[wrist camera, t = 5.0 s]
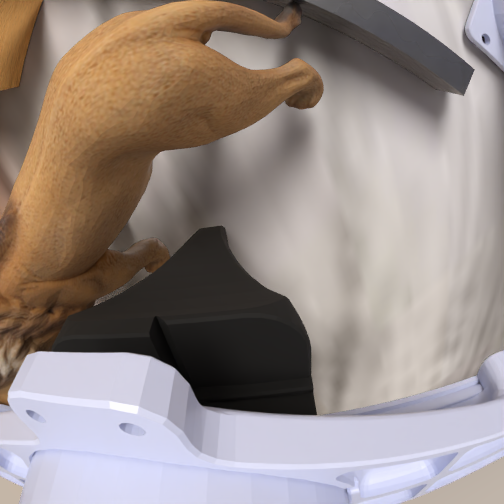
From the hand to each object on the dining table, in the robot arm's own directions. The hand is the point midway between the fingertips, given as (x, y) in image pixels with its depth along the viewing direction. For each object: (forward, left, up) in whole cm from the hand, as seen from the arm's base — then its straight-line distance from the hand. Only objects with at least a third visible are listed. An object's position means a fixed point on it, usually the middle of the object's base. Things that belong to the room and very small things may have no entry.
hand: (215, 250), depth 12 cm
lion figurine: (+2, -1, -1) cm, 2 cm away
